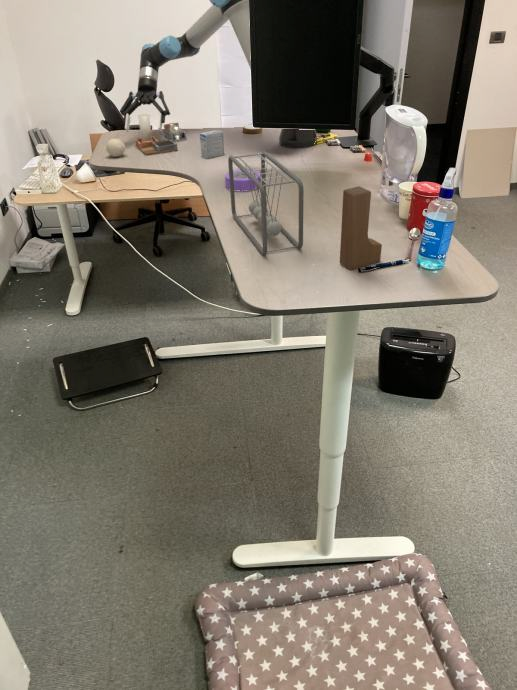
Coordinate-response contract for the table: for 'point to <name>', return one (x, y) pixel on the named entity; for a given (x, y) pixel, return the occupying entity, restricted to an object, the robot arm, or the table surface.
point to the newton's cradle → (261, 208)
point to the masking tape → (241, 180)
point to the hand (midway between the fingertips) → (143, 130)
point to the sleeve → (145, 128)
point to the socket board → (156, 146)
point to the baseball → (115, 147)
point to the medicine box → (212, 144)
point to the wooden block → (357, 230)
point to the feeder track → (170, 136)
